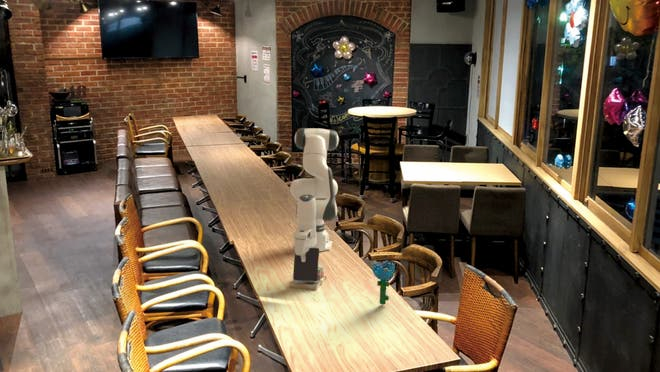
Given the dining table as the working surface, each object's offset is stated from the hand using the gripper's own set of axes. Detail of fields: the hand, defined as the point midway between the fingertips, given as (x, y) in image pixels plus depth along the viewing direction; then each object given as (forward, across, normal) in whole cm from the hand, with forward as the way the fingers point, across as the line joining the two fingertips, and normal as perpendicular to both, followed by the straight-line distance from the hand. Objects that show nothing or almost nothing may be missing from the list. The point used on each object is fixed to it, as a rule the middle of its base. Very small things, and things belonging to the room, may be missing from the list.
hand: (306, 259), depth 274 cm
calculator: (+9, +2, 0) cm, 10 cm away
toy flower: (+13, +9, +39) cm, 42 cm away
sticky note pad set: (+13, -4, 0) cm, 13 cm away
